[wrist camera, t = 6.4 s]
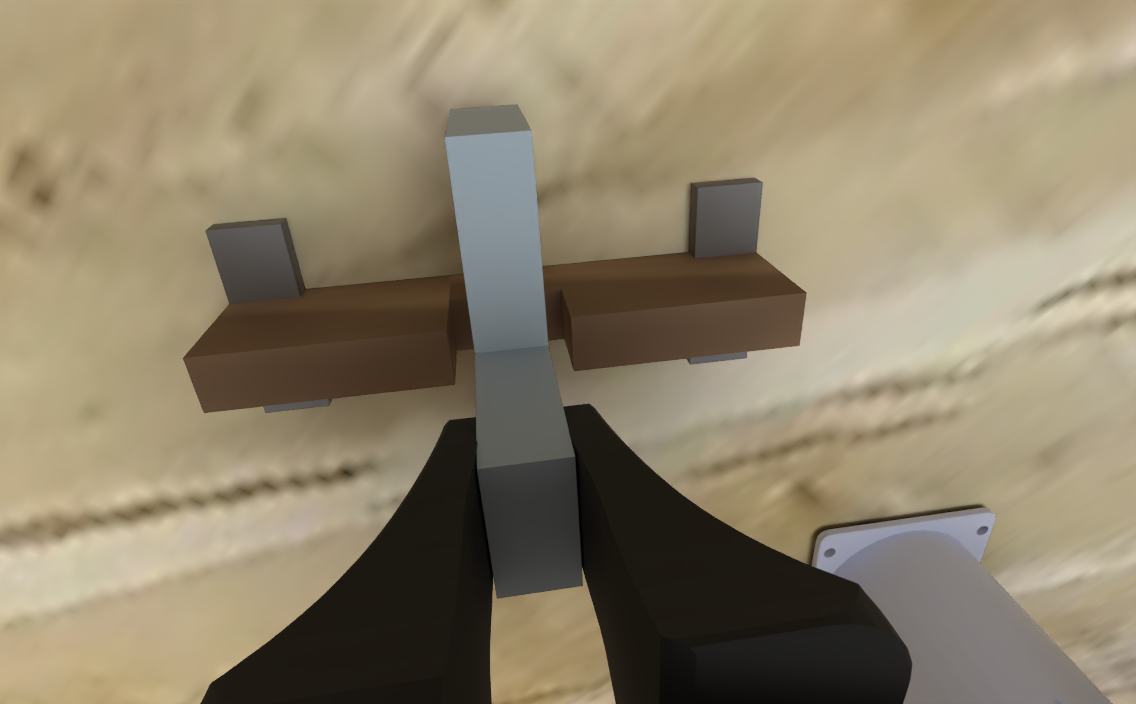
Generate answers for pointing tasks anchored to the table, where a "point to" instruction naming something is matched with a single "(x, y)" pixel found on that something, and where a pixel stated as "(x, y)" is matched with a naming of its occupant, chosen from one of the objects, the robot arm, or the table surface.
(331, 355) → the walnut slotted plate
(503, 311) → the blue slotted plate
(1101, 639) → the table surface
